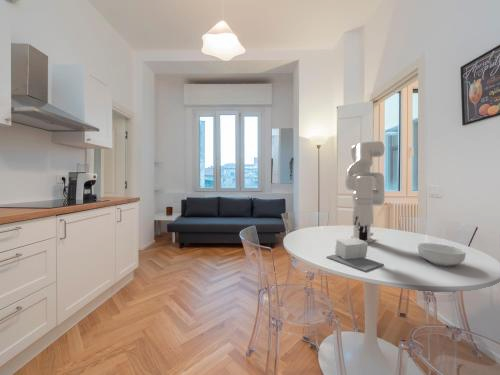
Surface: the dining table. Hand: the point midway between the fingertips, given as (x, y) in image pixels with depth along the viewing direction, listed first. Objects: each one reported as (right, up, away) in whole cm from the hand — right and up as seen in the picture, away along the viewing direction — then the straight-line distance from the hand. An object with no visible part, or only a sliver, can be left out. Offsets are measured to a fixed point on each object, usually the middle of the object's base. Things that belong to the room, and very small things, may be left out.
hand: (363, 239), depth 111 cm
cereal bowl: (+33, -10, -5) cm, 35 cm away
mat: (-6, -9, -3) cm, 12 cm away
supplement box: (+1, -5, +3) cm, 6 cm away
